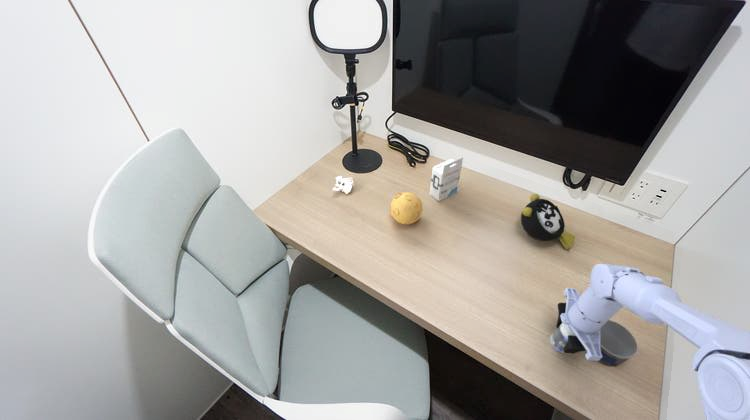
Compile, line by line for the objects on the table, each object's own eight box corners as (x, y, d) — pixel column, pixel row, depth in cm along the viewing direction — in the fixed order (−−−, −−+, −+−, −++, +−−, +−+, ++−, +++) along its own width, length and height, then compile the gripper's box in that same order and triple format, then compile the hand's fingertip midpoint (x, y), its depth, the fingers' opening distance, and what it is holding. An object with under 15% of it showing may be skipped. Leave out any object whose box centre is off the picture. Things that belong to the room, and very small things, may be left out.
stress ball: (394, 206, 104) (394, 183, 97) (423, 211, 102) (426, 188, 95) (386, 227, 97) (387, 204, 90) (418, 233, 95) (421, 210, 88)
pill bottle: (552, 352, 69) (568, 335, 63) (547, 331, 73) (562, 314, 67) (575, 355, 69) (593, 339, 63) (569, 334, 72) (586, 317, 66)
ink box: (446, 185, 111) (453, 149, 101) (456, 192, 108) (464, 157, 98) (428, 194, 108) (433, 158, 98) (438, 202, 105) (444, 166, 95)
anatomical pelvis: (335, 172, 112) (353, 171, 111) (337, 181, 114) (355, 180, 114) (331, 186, 106) (350, 185, 105) (333, 196, 109) (352, 195, 108)
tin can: (633, 359, 68) (647, 349, 64) (604, 372, 66) (616, 364, 63) (602, 324, 74) (613, 314, 70) (574, 336, 72) (584, 326, 68)
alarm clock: (541, 263, 91) (535, 234, 81) (516, 228, 101) (509, 198, 92) (582, 247, 88) (581, 215, 79) (553, 212, 99) (549, 180, 89)
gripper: (559, 274, 65) (537, 307, 75) (584, 344, 55) (555, 371, 64) (595, 278, 65) (568, 310, 74) (627, 348, 54) (591, 376, 64)
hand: (564, 339), depth 69 cm, fingers closed on pill bottle, 5 cm apart
